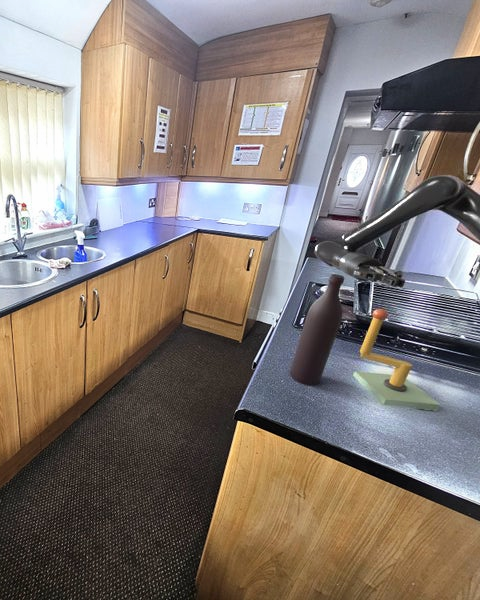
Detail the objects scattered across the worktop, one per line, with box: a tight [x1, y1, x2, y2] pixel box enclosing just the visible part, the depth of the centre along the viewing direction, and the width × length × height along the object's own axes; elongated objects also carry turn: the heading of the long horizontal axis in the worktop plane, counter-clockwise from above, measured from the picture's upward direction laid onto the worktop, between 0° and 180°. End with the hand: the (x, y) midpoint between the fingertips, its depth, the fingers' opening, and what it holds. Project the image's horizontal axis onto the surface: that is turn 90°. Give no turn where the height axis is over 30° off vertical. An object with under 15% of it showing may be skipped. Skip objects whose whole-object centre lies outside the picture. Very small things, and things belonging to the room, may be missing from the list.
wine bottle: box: [289, 273, 345, 386], centre depth 84 cm, size 7×7×30 cm
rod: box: [359, 308, 413, 387], centre depth 83 cm, size 11×3×19 cm, turn 52°
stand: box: [352, 370, 441, 411], centre depth 85 cm, size 12×12×3 cm
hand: (399, 283), depth 90 cm, fingers closed
